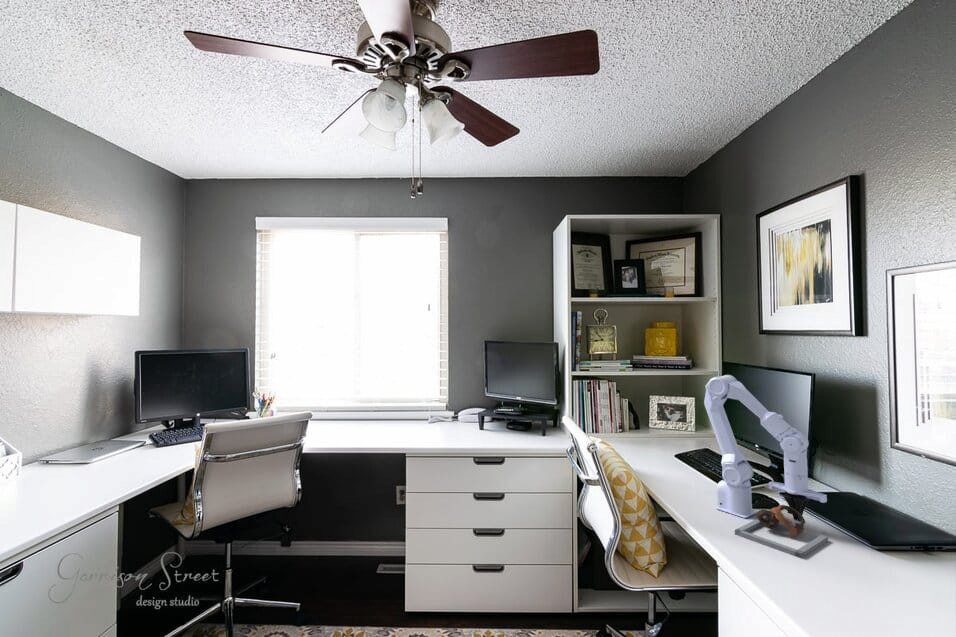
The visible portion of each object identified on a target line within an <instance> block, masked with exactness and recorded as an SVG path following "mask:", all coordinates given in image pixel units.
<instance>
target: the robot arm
mask: <svg viewBox="0 0 956 637" xmlns="http://www.w3.org/2000/svg"><path fill="white" fill-rule="evenodd" d="M727 399H731V400H736V401H740V403H741V404H743V405H744V406H745V407H746V408H747V409H748V410H749V411H751V412H752V413H753V414H754V415H755V416H756V417H758V418H759V421H760V422H759V423H760V426H762V427H763V428H764V429H765V430H766V431H767V432H768V433H769V434H770V435H771V436H772V437H773V438H774V439H775V440H776V441H778V442H779V446H780V447H781V448H780V449H781V450H782V451H783V468H784V471H783V473H784V475H783V476H784V482H783V483H782V482H777V481H769V482H768V489H770V490H775V491H780V492H783V493H785V494H784V495H783V498H784V500H785V501H786V503H787V506H789V507H792V508H794V509H795V510H797V511H798V512H799V513H800V514H801V515H802V516H803V514H804V511H805V508H806V507H807V504H809V501H810V500H814V501H819V502H820V503H823V504H825V503H827V502H828V498H827V494H825V493H821V492H820V491H819V492H818V491H815V490H812V489H810V488H809V478H808V477H809V476H808V475H809V474H808V473H809V472H808V458H807V448H808V447H809V444H810V442H809V440H808V438H807V436H806V435H805V433H803V432H801V431H799V430H797V428H796V427H792V426H791V425H790V424H789V423H788V422H787V421H786V420H785V419H784V416H783V415H782V414H778V413H777V412H775V411H769V410H768V409H767V408H766V407H765V406H764V405H763V404H762V403H761V402H760V401H759V400H758V399H757V398H756V397H755V396H754V395H753V394H752V393H751V392H750V391H749V390H748V389H747V388H746V387H745V386H744V384H743V382H741V381H739V380H737V378H736V377H734V376H733V375H731V374H724V375H722V376H714V377H712V378H710V379H709V381H707V383H706V384H705V396H704V401H703V404H704V408H705V410H706V412H707V415H708V418H709V422H710V424H711V426H712V431H713V433H714V436H715V438H716V441H717V445H718V446H719V449H720V453H721V455H722V458H721V464H720V465H721V468H722V471H721V475H722V480H720V481H718V484H717V485H716V486H717V487H716V500H717V501H716V502H717V503H716V504H717V506H716V508H715V509H716V510H718V511H721V512H722V511H723V512H725V513H727V514H731V515H734V516H738V517H741V518H743V519H747V518H749V517H752V516H753V515H755V514H756V515H757V512H758V511H759V510H755V509H753V503H752V483H751V481H750V480H751V479H752V478H753V476H754V469H753V467H752V465H750V463H749V462H748V460H747V459H746V456H745V455H743V453H742V452H740V449H739V446H738V443H737V440H736V437H735V436H734V435H735V434H734V432H733V429H732V427H731V424H730V422H729V419H728V415H727V413H726V410H725V408H724V405H725V402H727ZM792 518H793V520H794V521H798V522H799V520H798V518H797V516H796V515H792Z"/></svg>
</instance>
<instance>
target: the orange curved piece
mask: <svg viewBox="0 0 956 637" xmlns="http://www.w3.org/2000/svg"><path fill="white" fill-rule="evenodd" d="M783 510H786V511H787V514H789V515H792V516H793V515H796V516H797V518H798V520H799V521H798V523H797V522H796V523H795V524H794V525H792V524H793V521H792V520H790V519H789V518H787V517H786V516H785V515H784V514H783V512H782V511H783ZM757 511H758V512H757V513H756V519H758V520H759V521H760V522H761V523H763V525H764V528H766V529H770V527H771V523H772V524H774V525H779V524H780V523H782V524H783V525H784V526H785V527H787V528H788V529H789V531H788V532H787V536H788V537H790V538H795V537H796V536H797V535H798V536H799V535H800V534H801V533H803V532H805V531H804V530H805V525H806V524H805V523H806V519H805V518H804V516H803V515H801V514H800V513H799V512H798V511H797V510H795V509H794V508H792V507H789V505H786V504H779V505H778V506H776V507H772V508H770V509H769V510H767V509H764V508H763V509H759V510H757ZM763 516H764V517H765V518H764V519H763Z"/></svg>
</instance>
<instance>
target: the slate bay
mask: <svg viewBox="0 0 956 637" xmlns="http://www.w3.org/2000/svg"><path fill="white" fill-rule="evenodd" d="M765 517H766V516H763V519H764V518H765ZM763 525H764V524H763V523H761V522H760V521H759V520H758V518H756V519H755V520H752V521H750V522H749V523H746V524H744V525H742V526H740V527H738V528H736V529H734V535H736V536H739V537H742V538H744V539H747V540H750V541H753V542H755V543H758V544H762V545H764V546H766V547H770V548H772V549H773V550H774V549H775V550H778V551H780V552H782V553H786V554H789V555H792V556H794V557H797V558H800V559H803V558H804V557H806V556H807V555H809V554H811V553H812V552H813V551H815V550H816V549H819V547H821V546H823V545H824V544H826V543H827V542H829V536H828V535H824V534H821V535H819V536H817V537H816V538H814V539H812V540H810V541H809V542H807V543H805V544H804V545H802V546H800V547H799V548H798V549H797V548H793V547H791V546H789V545H785V544H782V543H780V542H776V541H773V540H771V539H768V538H766V537H765V538H764V537H762V536H759V535H756V534H755V533H754V534H753V533H751V531H753V530H756V529H757V528H759V527H761V526H763Z"/></svg>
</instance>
